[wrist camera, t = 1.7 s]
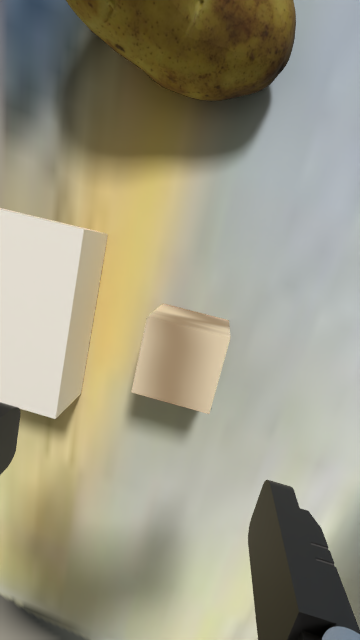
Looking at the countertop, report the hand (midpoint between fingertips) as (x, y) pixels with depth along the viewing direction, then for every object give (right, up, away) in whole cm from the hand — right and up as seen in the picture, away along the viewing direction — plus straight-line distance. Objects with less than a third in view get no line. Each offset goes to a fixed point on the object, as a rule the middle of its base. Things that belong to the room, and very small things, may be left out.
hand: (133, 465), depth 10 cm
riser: (-12, +6, +15) cm, 20 cm away
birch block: (+2, +3, +14) cm, 14 cm away
